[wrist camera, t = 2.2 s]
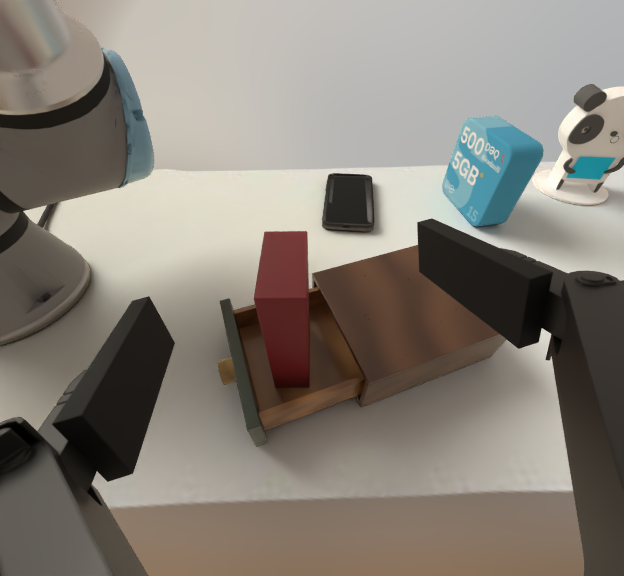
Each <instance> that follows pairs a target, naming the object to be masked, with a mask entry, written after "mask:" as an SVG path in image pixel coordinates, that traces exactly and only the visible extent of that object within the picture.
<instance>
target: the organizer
mask: <svg viewBox="0 0 624 576" xmlns="http://www.w3.org/2000/svg"><path fill="white" fill-rule="evenodd" d="M315 287H318V289H319V291H320V293H321V294H322V296H323V298H324V300H325V302H326V304H327V306H328V308H329V310H330V312H331V314H332V316H333V318H334V320H335V322H336V324H337V326H338V328H339V330H340V332H341V334H342V335H343V337H344V339H345V341H346V343H347V345H348V347H349V349H350V351H351V353H352V355H353V357H354V359H355V361H356V363H357V365H358V367H359V369H360V371H361V373H362V375H363V377H364V378H365V384H364V387H363V390H362V394H360V395H358V396H356V398H357V400H358V402H359V404H360V406H361V407H364V406H366V405H369V404H371V403H374V402H376V401H379V400H381V399H384V398H387V397H389V396H392V395H394V394H397V393H399V392H402V391H404V390H407V389H410V388H412V387H415V386H417V385H420V384H422V383H425V382H427V381H430V380H433V379H435V378H438V377H440V376H443V375H445V374H448V373H450V372H453V371H456V370H458V369H461V368H463V367H466V366H468V365H471V364H473V363H476V362H479V361H481V360H484V359H486V358H489V357H491V356H492V355H493V354H494V353H495V352H496V351H497V349H498V348H499V347H500V346H501V345H502V344H503V343H504V342H505V340H506V339H505V338H504V337H503V336H502V335H500V334H499V333H498V332H496V331H495V330H494V329H492V328H491V327H490V326H489V325H487V324H486V323H485V322H483V321H482V320H481V319H480V318H478V317H477V316H476V315H474V314H473V313H472V312H470V311H469V310H468V309H467V308H465V307H464V306H463V305H461V304H460V303H459V302H458V301H456V300H455V299H454V298H452V297H451V296H450V295H449V294H447V293H446V292H445V291H443V290H442V289H441V288H439V287H438V286H437V285H436V284H434V283H433V282H432V281H430V280H429V279H428V278H427V277H425V276H424V275H423V274H421V273H420V272H419V254H418V245H416V246H412V247H409V248H405V249H401V250H398V251H394V252H390V253H386V254H383V255H379V256H375V257H372V258H368V259H364V260H360V261H357V262H353V263H349V264H346V265H342V266H338V267H335V268H331V269H327V270H323V271H320V272H316V273H313V274H312V288H315Z"/></svg>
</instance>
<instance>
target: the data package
mask: <svg viewBox="0 0 624 576" xmlns="http://www.w3.org/2000/svg"><path fill="white" fill-rule="evenodd" d="M542 157H543V146H542V145H541V143H540V142H538V141H537V140H535V139H534V138H532V137H530V136H529V135H527V134H526V133H524V132H522V131H521V130H519V129H518V128H516V127H514V126H513V125H511V124H510V123H508V122H507V121H505V120H503V119H502V118H500V117H498V116H489V117H477V118H469V119H467V120H466V121H465V122H464V123H463V125H462V128H461V131H460V134H459V137H458V139H457V142H456V145H455V148H454V151H453V154H452V157H451V160H450V163H449V166H448V169H447V172H446V174H445V177H444V180H443V185H442V187H443V192H444V194H445V195H446V196H447V197H448V198H449V199H450V201H451V202H452V203H453V204H454V205H455V206H456V208H457V209H458V210H459V211H460V212H461V213H462V214H463V216H464V217H465V218H466V219H467V220H468V221H469V223H470V224H471V225H472V226H484V225H492V224H500V223H504V222H505V221H506V220H507V219H508V217H509V215H510V214H511V212H512V210H513V208H514V207H515V205H516V203H517V201H518V200H519V198H520V196H521V195H522V193H523V191H524V189H525V188H526V186H527V184H528V182H529V181H530V179H531V177H532V175H533V174H534V172H535V170H536V168H537V167H538V165H539V163H540V161H541V159H542Z"/></svg>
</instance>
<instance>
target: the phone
mask: <svg viewBox="0 0 624 576" xmlns="http://www.w3.org/2000/svg"><path fill="white" fill-rule="evenodd" d="M322 226H323V227H324V228H325V229H328V230H344V231H361V232H369V231H371V230H373V227H374V205H373V187H372V177H371V176H369V175H360V174H338V173H332V174H329V175H328V180H327V185H326V195H325V202H324V210H323V217H322Z"/></svg>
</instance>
